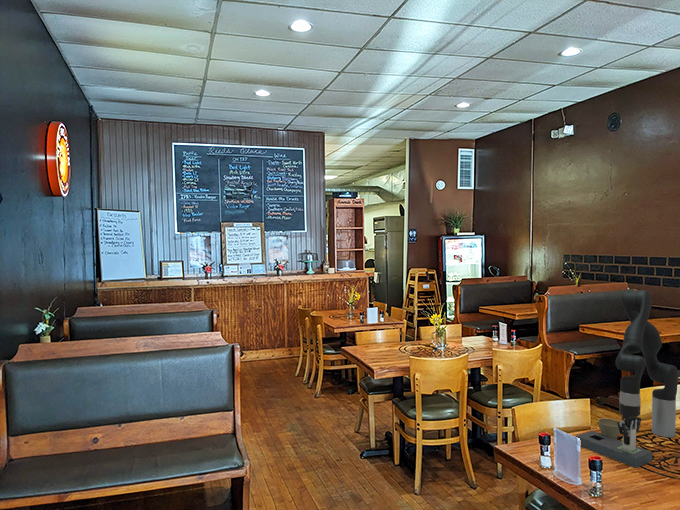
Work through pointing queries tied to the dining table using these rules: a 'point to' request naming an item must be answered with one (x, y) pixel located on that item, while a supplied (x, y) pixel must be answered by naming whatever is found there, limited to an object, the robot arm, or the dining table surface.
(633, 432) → the plug peg
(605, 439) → the panel
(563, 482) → the dining table surface
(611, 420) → the flower pot
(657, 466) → the dining table surface
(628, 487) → the dining table surface
